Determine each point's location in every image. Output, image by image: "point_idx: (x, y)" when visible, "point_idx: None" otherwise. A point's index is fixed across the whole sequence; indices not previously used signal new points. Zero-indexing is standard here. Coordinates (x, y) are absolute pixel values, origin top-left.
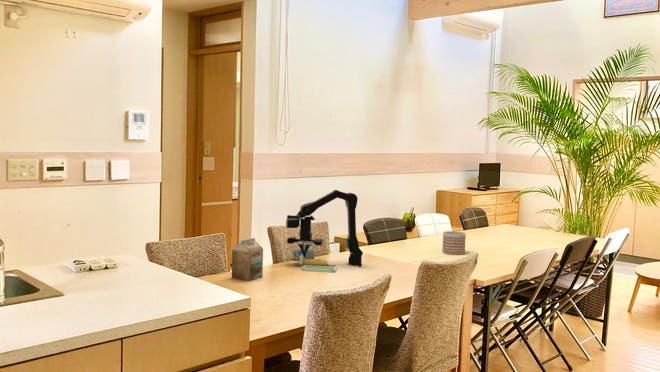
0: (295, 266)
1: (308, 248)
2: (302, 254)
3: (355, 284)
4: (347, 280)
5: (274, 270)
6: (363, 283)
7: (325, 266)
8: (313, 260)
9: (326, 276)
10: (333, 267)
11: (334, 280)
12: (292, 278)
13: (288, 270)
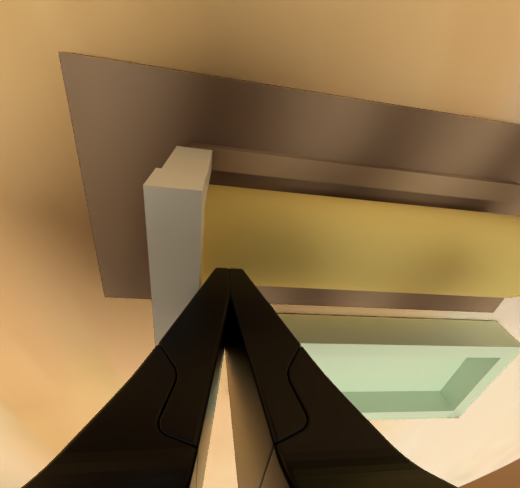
0: (143, 297)
1: (348, 421)
2: (162, 226)
3: (462, 479)
4: (457, 453)
5: (8, 391)
6: (501, 466)
7: (435, 349)
8: (356, 290)
9: (379, 428)
10: (491, 355)
11: None
12: (203, 480)
13: (119, 371)
